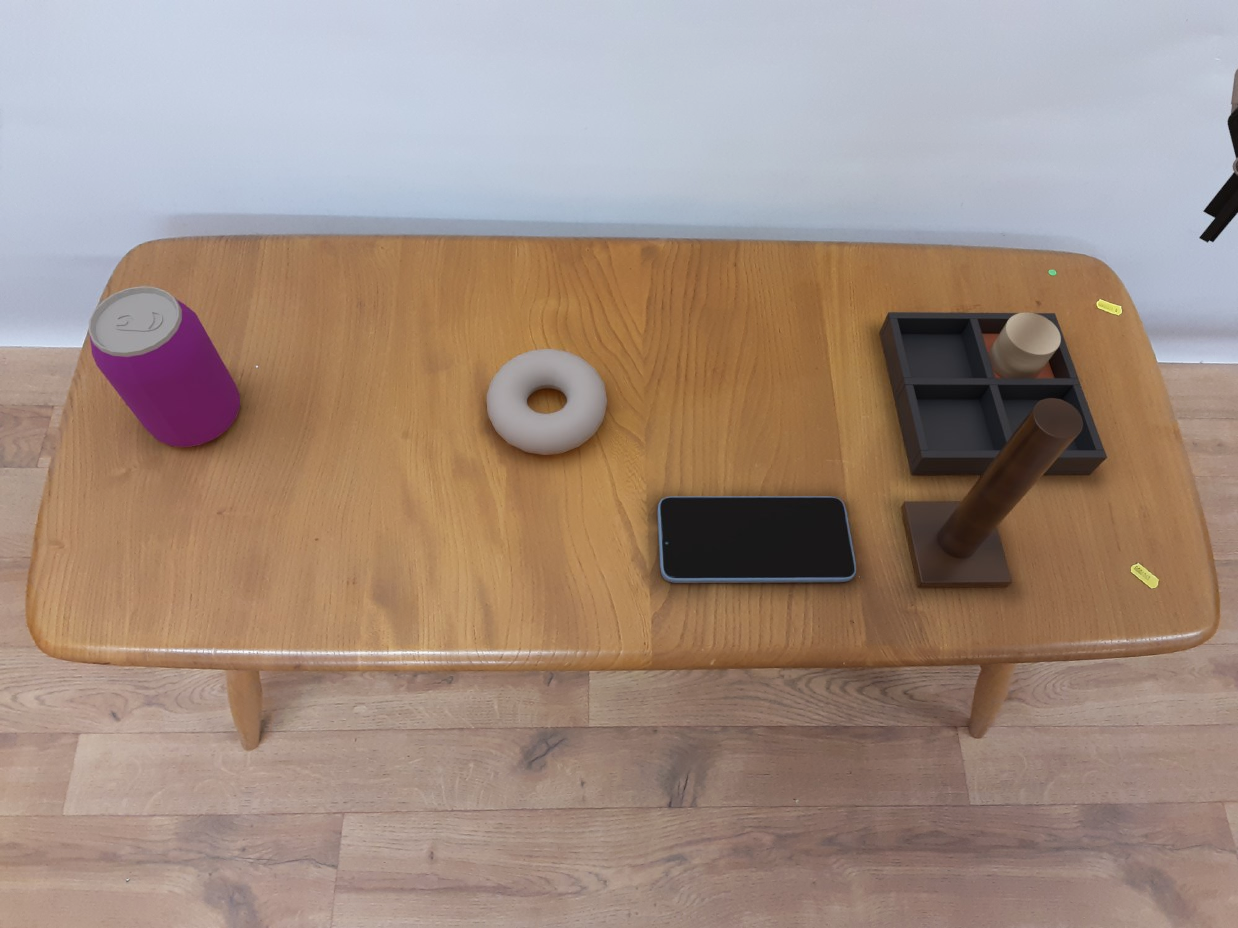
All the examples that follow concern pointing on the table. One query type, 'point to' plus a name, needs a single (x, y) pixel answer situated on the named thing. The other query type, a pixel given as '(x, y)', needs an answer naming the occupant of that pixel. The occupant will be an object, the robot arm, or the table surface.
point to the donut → (552, 428)
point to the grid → (973, 394)
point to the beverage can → (163, 366)
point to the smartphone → (754, 539)
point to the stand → (987, 505)
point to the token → (1024, 346)
